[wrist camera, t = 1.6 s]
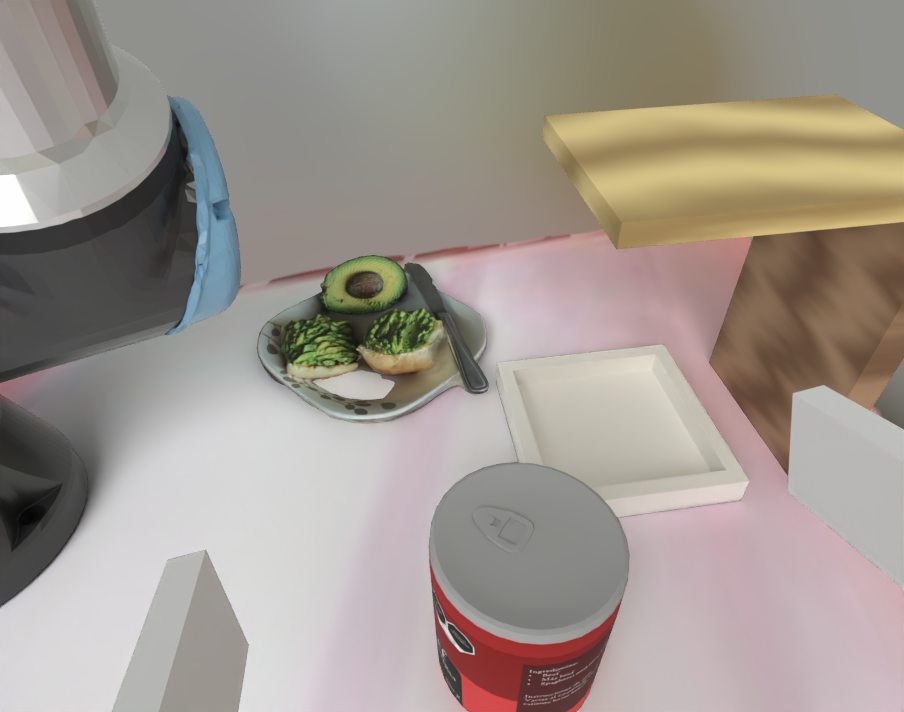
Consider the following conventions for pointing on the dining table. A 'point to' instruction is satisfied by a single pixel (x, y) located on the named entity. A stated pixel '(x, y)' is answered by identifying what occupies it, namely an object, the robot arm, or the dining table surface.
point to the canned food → (524, 587)
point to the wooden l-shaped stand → (765, 232)
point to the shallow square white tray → (620, 428)
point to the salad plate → (376, 340)
